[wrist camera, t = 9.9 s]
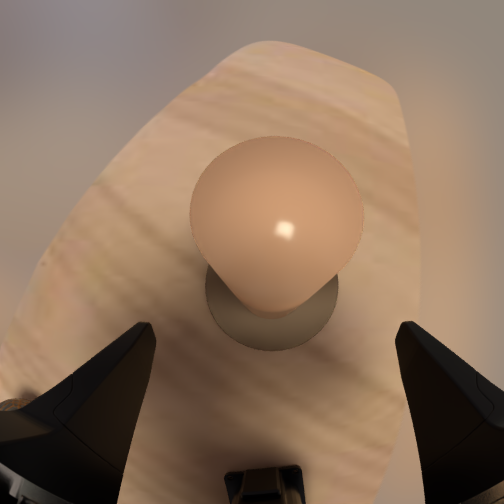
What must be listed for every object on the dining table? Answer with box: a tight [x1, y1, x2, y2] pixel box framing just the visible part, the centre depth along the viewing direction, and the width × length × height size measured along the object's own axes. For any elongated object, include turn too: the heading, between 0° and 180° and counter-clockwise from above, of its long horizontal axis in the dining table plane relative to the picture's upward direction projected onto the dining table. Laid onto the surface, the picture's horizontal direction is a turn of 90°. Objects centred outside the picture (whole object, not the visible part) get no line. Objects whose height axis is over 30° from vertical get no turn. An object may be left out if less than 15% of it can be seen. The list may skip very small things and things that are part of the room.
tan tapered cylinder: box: [190, 136, 364, 319], centre depth 14 cm, size 5×5×13 cm
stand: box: [205, 264, 338, 351], centre depth 21 cm, size 10×10×2 cm
